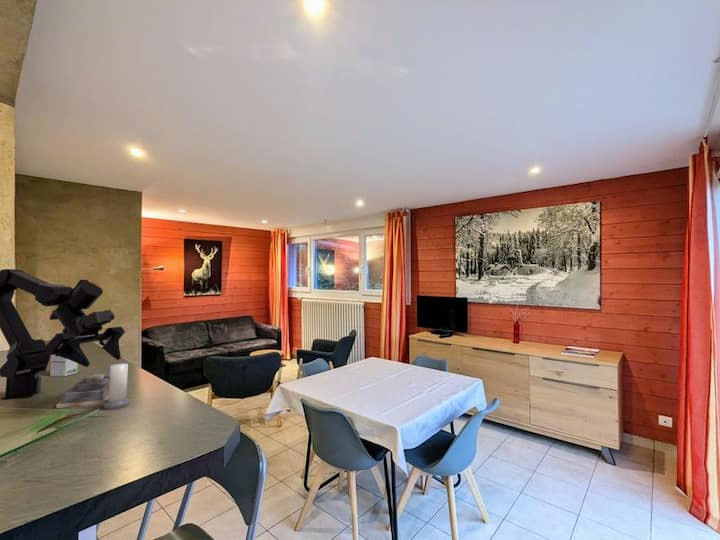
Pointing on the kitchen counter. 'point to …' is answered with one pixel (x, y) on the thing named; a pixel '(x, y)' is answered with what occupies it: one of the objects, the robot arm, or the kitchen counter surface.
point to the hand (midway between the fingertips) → (104, 362)
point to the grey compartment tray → (86, 392)
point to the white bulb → (117, 387)
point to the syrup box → (63, 366)
